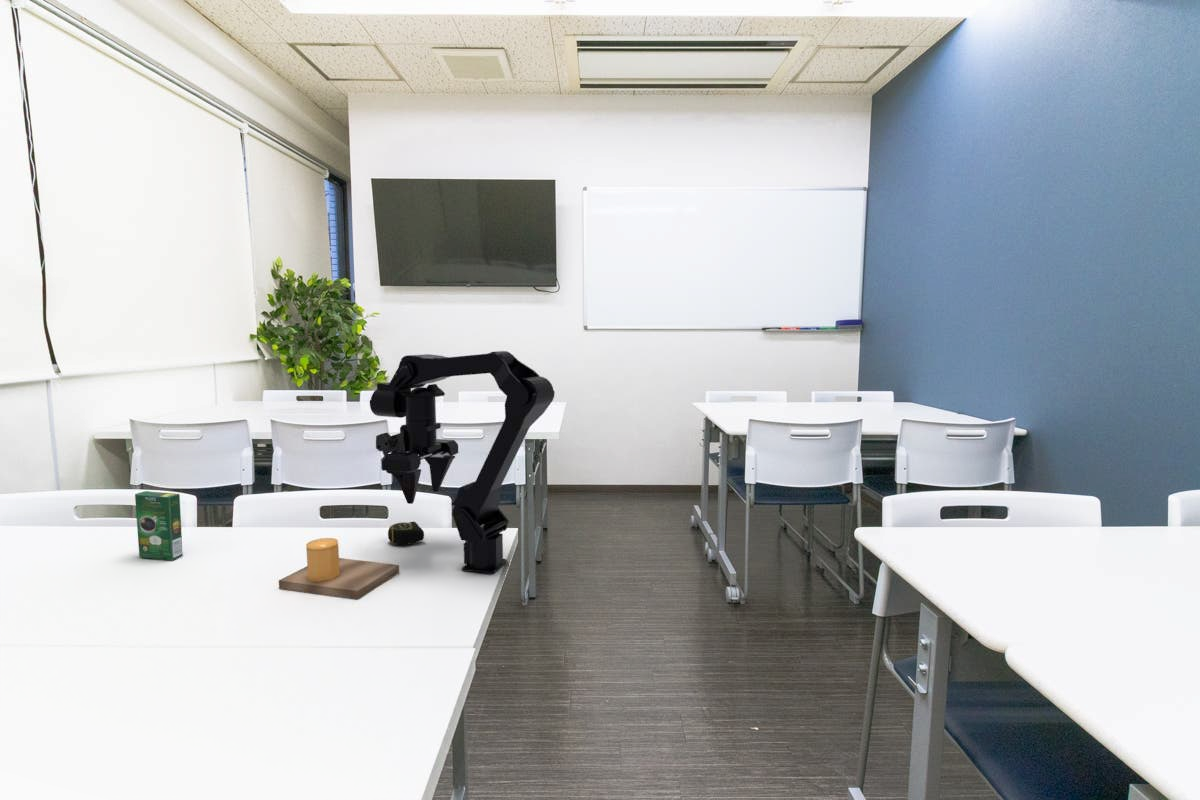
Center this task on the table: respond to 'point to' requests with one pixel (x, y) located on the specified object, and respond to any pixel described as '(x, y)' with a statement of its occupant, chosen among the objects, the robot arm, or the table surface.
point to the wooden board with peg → (343, 579)
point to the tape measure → (405, 533)
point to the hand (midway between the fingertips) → (423, 497)
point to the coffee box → (159, 525)
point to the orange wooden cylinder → (322, 559)
